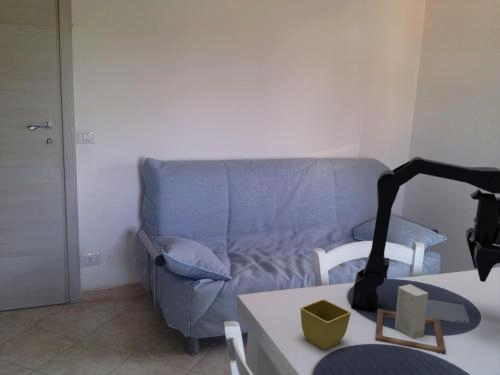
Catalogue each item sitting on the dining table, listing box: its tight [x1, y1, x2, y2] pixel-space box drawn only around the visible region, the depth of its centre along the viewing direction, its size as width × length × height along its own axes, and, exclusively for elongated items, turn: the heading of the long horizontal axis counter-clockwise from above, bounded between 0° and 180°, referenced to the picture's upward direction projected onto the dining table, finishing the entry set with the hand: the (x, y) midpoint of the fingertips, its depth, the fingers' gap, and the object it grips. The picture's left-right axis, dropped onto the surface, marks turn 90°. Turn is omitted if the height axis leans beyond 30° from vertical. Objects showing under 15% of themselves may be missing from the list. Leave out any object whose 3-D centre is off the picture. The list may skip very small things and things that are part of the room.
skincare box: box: [394, 283, 429, 340], centre depth 113 cm, size 6×4×12 cm
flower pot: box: [300, 299, 352, 350], centre depth 107 cm, size 9×9×9 cm
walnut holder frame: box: [374, 308, 447, 355], centre depth 114 cm, size 16×16×2 cm
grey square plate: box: [426, 298, 470, 323], centre depth 126 cm, size 12×12×1 cm
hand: (479, 274), depth 116 cm, fingers open, 9 cm apart
